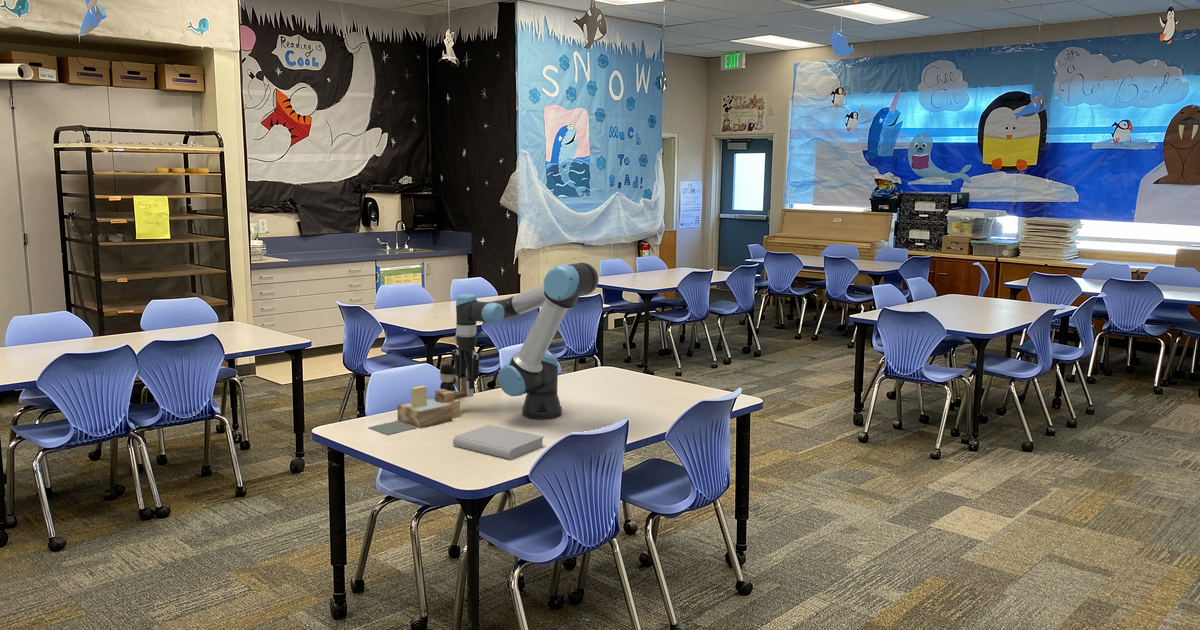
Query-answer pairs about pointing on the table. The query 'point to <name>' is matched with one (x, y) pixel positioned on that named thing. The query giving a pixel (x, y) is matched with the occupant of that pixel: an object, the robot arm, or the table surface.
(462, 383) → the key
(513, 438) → the book
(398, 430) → the mat
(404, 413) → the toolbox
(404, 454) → the table surface
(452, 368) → the toy
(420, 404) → the lid
